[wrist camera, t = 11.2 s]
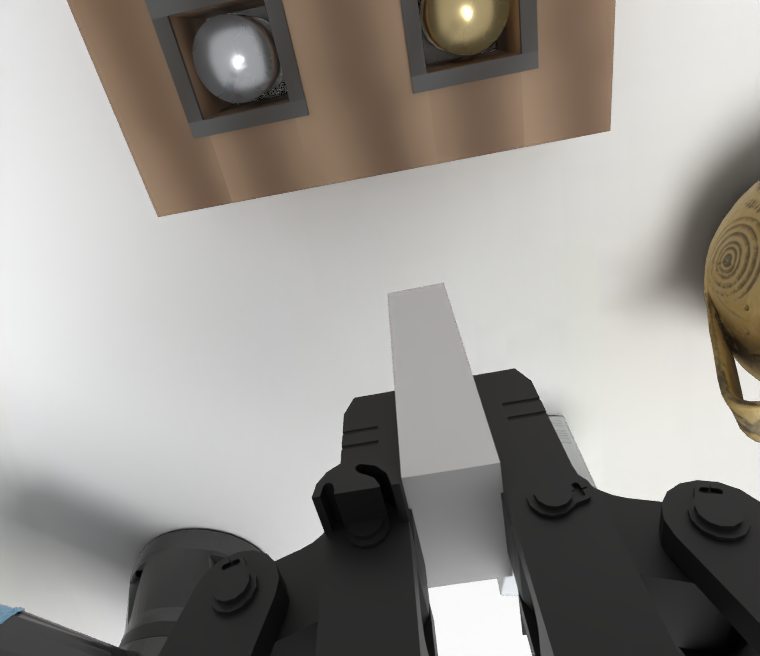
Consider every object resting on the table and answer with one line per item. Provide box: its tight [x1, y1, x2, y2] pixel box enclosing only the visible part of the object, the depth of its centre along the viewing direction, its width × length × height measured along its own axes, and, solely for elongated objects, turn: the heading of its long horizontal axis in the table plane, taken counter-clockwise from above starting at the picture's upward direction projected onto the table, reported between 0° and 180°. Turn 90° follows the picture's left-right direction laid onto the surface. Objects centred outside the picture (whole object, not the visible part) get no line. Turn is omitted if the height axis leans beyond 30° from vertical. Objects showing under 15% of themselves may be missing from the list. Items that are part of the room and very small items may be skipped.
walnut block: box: [67, 0, 615, 217], centre depth 28 cm, size 26×14×6 cm, turn 101°
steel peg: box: [193, 14, 284, 103], centre depth 28 cm, size 4×4×6 cm
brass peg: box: [420, 0, 510, 55], centre depth 27 cm, size 4×4×6 cm
